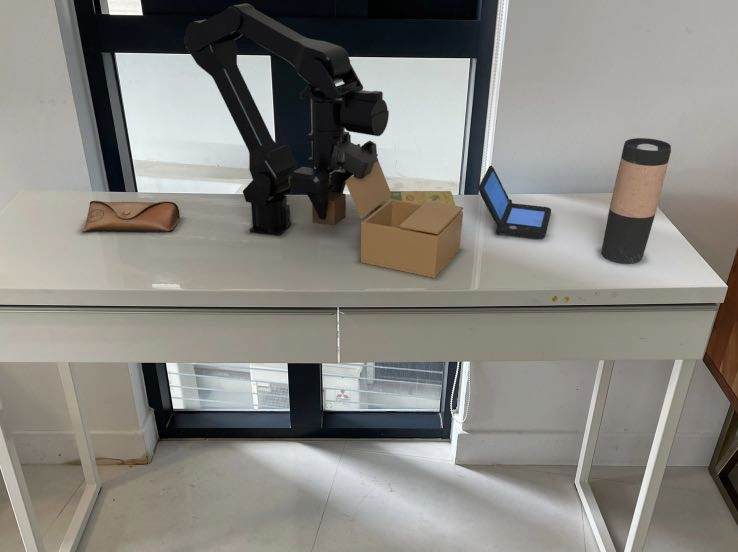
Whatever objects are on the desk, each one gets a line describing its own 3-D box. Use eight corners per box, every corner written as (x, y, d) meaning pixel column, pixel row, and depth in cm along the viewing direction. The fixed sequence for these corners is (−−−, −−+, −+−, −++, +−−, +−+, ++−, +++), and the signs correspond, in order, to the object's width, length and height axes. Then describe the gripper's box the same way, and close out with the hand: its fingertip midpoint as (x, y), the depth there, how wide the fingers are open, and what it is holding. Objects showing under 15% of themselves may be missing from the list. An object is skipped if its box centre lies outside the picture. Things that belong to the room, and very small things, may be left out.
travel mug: (590, 251, 132) (614, 140, 121) (623, 244, 135) (649, 135, 123) (619, 267, 126) (646, 153, 115) (653, 260, 129) (683, 147, 118)
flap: (362, 218, 124) (360, 218, 124) (392, 195, 133) (390, 195, 133) (346, 180, 121) (344, 181, 121) (378, 159, 131) (376, 160, 131)
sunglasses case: (79, 231, 138) (78, 196, 138) (91, 236, 145) (90, 203, 145) (173, 231, 139) (172, 196, 138) (180, 236, 146) (180, 203, 145)
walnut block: (312, 222, 132) (311, 197, 129) (323, 213, 135) (323, 189, 133) (334, 226, 130) (334, 201, 128) (345, 217, 134) (345, 193, 131)
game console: (544, 242, 136) (552, 195, 131) (472, 233, 139) (477, 187, 134) (551, 213, 148) (559, 169, 143) (485, 206, 151) (490, 163, 146)
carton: (454, 225, 143) (456, 204, 140) (373, 224, 143) (374, 203, 140) (450, 209, 149) (451, 189, 147) (372, 209, 150) (373, 189, 147)
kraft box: (360, 262, 128) (361, 217, 124) (389, 236, 138) (391, 194, 133) (434, 278, 123) (438, 232, 118) (459, 250, 133) (463, 206, 128)
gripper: (346, 147, 113) (345, 240, 122) (392, 120, 127) (389, 205, 136) (285, 138, 118) (288, 229, 126) (336, 113, 131) (336, 196, 140)
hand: (328, 214), depth 132 cm, fingers closed on walnut block, 4 cm apart
